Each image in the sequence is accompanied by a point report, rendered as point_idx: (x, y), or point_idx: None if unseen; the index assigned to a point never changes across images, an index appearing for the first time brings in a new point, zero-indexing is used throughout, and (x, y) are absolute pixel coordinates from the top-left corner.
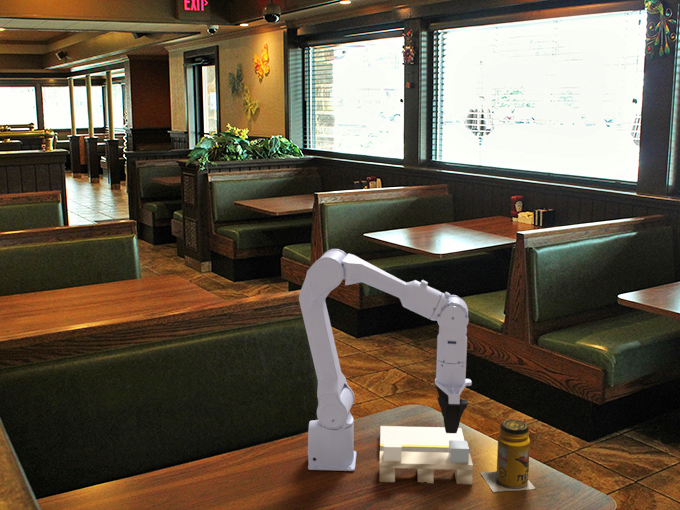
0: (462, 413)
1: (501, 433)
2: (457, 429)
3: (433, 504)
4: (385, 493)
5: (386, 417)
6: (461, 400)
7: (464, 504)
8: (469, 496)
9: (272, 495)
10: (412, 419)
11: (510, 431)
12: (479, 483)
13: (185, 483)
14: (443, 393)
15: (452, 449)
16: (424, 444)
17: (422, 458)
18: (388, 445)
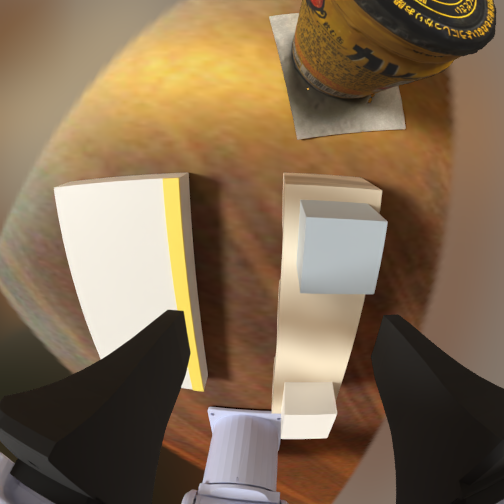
0: (490, 383)
1: (437, 61)
2: (409, 324)
3: (433, 287)
4: (372, 368)
5: (48, 335)
6: (499, 466)
7: (447, 219)
8: (419, 199)
9: (341, 461)
10: (35, 289)
11: (493, 33)
12: (356, 154)
13: (301, 495)
14: (145, 458)
15: (373, 285)
16: (172, 303)
17: (321, 340)
18: (320, 432)
